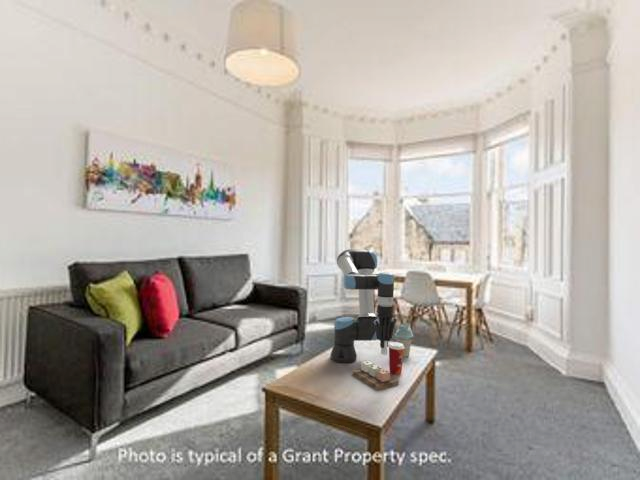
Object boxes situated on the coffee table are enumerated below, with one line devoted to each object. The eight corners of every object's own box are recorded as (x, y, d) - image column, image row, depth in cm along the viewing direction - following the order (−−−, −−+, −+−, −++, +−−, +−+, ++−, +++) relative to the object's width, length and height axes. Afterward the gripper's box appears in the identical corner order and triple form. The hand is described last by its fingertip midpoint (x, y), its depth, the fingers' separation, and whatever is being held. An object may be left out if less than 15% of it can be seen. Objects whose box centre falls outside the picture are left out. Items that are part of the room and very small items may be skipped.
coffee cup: (403, 376, 179) (404, 347, 178) (387, 374, 180) (388, 345, 180) (403, 370, 187) (404, 342, 187) (387, 368, 189) (388, 341, 188)
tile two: (368, 373, 175) (368, 365, 175) (375, 372, 177) (375, 364, 177) (374, 377, 171) (374, 368, 171) (381, 375, 173) (381, 367, 173)
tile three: (376, 378, 170) (376, 370, 170) (383, 376, 172) (383, 368, 172) (382, 382, 166) (382, 373, 166) (389, 380, 168) (389, 371, 168)
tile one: (361, 369, 180) (361, 361, 180) (368, 368, 183) (368, 360, 183) (366, 372, 177) (366, 364, 177) (373, 371, 179) (373, 363, 179)
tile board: (352, 374, 180) (352, 370, 180) (372, 369, 186) (372, 366, 186) (377, 390, 162) (377, 385, 162) (398, 384, 169) (398, 380, 169)
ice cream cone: (395, 351, 217) (396, 319, 217) (413, 353, 213) (414, 321, 213) (392, 356, 208) (393, 322, 207) (412, 359, 204) (413, 325, 204)
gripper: (379, 307, 162) (378, 358, 162) (400, 305, 168) (399, 354, 168) (369, 304, 168) (368, 353, 168) (390, 302, 175) (389, 349, 175)
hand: (383, 353), depth 168 cm, fingers closed
